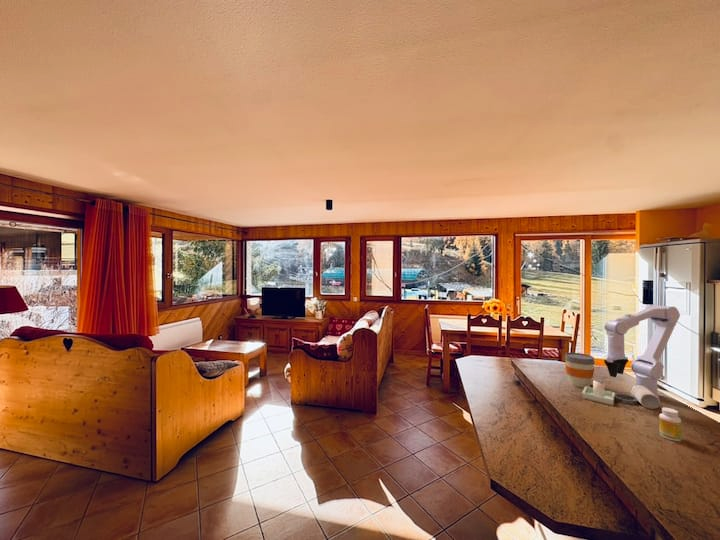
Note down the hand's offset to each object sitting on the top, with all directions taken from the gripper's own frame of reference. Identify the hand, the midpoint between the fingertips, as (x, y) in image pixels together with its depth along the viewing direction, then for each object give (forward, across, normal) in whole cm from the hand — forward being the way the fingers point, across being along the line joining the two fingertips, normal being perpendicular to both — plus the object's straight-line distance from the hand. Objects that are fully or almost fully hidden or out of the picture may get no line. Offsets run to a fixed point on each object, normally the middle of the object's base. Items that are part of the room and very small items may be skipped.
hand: (616, 375), depth 136 cm
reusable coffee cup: (+11, +3, +16) cm, 20 cm away
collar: (+10, -1, -3) cm, 11 cm away
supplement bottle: (+11, -25, -23) cm, 36 cm away
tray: (+10, -8, +4) cm, 14 cm away
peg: (+10, -8, +4) cm, 14 cm away
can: (+7, -2, -12) cm, 14 cm away
